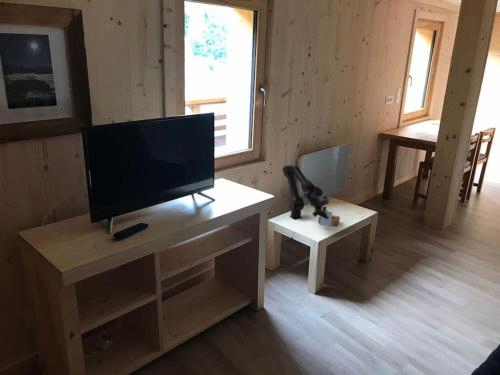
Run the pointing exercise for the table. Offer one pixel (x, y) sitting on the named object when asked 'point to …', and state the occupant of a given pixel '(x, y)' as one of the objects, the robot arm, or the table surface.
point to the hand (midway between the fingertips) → (328, 218)
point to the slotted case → (333, 220)
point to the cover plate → (326, 221)
